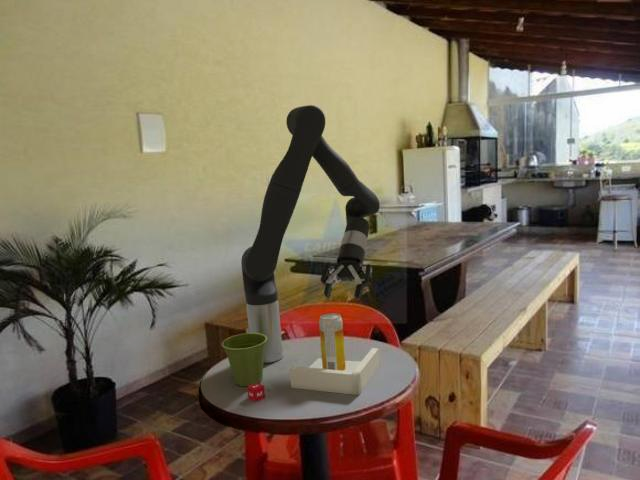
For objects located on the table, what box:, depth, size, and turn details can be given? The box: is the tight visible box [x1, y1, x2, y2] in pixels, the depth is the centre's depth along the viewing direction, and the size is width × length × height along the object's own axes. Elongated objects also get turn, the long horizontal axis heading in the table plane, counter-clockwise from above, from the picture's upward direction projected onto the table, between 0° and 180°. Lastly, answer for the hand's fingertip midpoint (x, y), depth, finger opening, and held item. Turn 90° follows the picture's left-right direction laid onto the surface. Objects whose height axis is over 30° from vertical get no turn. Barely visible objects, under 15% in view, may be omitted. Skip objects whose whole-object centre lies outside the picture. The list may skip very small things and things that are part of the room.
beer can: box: [318, 312, 346, 371], centre depth 132 cm, size 6×6×15 cm
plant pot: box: [221, 332, 267, 387], centre depth 132 cm, size 12×12×11 cm
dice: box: [246, 382, 266, 402], centre depth 122 cm, size 3×3×3 cm
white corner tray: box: [289, 347, 381, 396], centre depth 131 cm, size 18×18×5 cm
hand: (341, 298), depth 138 cm, fingers open, 8 cm apart
